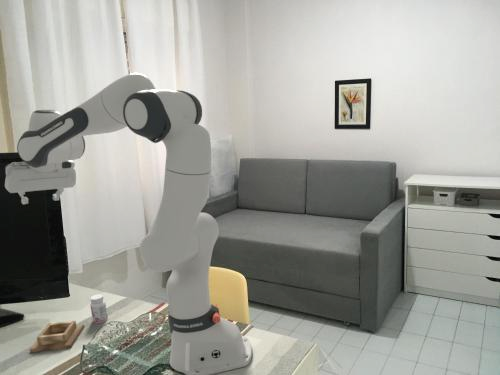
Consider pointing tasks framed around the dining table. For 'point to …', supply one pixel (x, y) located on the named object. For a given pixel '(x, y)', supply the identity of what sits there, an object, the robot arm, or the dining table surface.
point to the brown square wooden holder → (57, 336)
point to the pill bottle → (98, 309)
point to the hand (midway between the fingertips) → (40, 201)
